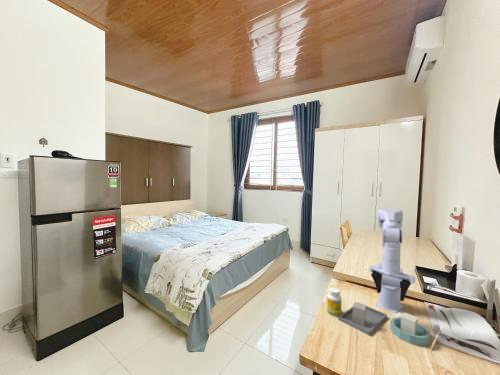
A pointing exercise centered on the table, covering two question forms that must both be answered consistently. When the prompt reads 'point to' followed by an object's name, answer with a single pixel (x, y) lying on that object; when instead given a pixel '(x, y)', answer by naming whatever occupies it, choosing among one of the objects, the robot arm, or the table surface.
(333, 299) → the supplement bottle
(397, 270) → the robot arm
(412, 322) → the beige rectangular block
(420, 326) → the bowl
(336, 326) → the table surface
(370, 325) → the tray
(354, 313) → the light gray rectangular block
